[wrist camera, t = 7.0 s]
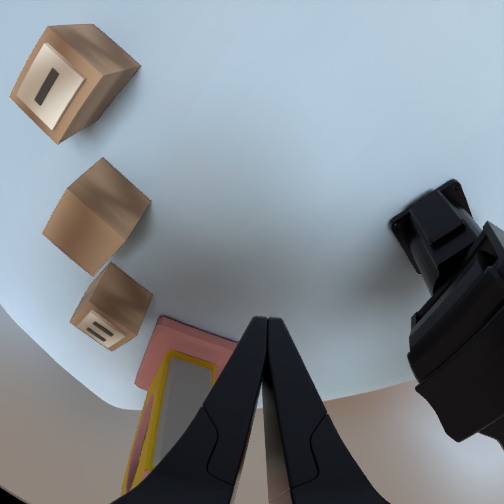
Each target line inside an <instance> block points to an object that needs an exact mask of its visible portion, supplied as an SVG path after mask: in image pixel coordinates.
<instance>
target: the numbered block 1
mask: <svg viewBox="0 0 504 504" xmlns="http://www.w3.org/2000/svg"><path fill="white" fill-rule="evenodd" d="M140 67H141V65H140V64H139V63H138V62H137V61H135V60H134V59H133V58H132V57H131V56H130V55H129V54H128V53H126V52H125V51H124V50H123V49H122V48H121V47H120V46H119V45H117V44H116V43H115V42H114V41H113V40H112V39H110V38H109V37H108V36H107V35H106V34H105V33H103V32H102V31H101V30H100V29H99V28H98V27H96V26H95V25H94V24H75V25H57V26H47V28H46V30H45V31H44V33H43V34H42V36H41V38H40V39H39V41H38V43H37V44H36V46H35V48H34V49H33V51H32V53H31V55H30V56H29V58H28V60H27V62H26V64H25V66H24V68H23V70H22V71H21V73H20V75H19V77H18V79H17V82H16V84H15V86H14V88H13V90H12V92H11V94H10V98H11V99H12V100H13V101H14V102H15V103H16V104H17V105H18V106H19V107H20V108H21V109H22V110H23V111H24V112H25V113H26V114H27V115H28V116H29V117H30V118H31V119H32V120H33V121H34V122H35V123H36V124H37V125H38V126H39V127H40V128H41V129H42V130H43V131H44V132H45V133H46V134H47V135H48V136H49V137H50V138H51V139H52V140H53V141H54V142H55V143H56V144H57V145H58V144H60V143H61V142H63V141H64V140H66V139H67V138H69V137H70V136H72V135H74V134H75V133H77V132H78V131H80V130H82V129H83V128H85V127H87V126H89V125H90V124H92V123H94V122H95V121H97V120H98V119H99V118H100V116H101V115H102V114H103V112H104V111H105V110H106V108H107V107H108V106H109V104H110V103H111V102H112V100H113V99H114V98H115V97H116V95H117V94H118V93H119V92H120V90H121V89H122V88H123V87H124V85H125V84H126V83H127V82H128V81H129V79H130V78H131V77H132V76H133V75H134V74H135V72H136V71H137V70H138V69H139V68H140Z"/></svg>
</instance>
